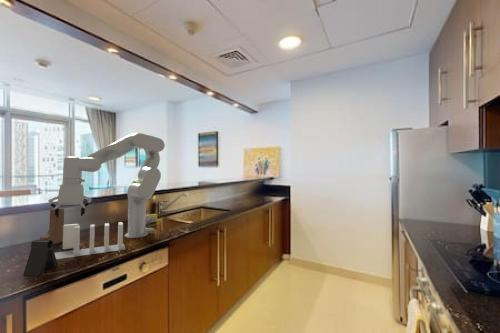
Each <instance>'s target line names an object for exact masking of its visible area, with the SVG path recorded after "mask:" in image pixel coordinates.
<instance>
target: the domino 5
mask: <svg viewBox="0 0 500 333" xmlns="http://www.w3.org/2000/svg"><path fill="white" fill-rule="evenodd" d="M123 244H124V223H123V222H122V221H119V222H118V223H117V245H118V249H122V248H123Z"/></svg>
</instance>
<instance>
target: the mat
mask: <svg viewBox="0 0 500 333" xmlns="http://www.w3.org/2000/svg"><path fill="white" fill-rule="evenodd" d="M123 250H126V247H125V244H124V243H123V248H122V249H118V244H111V245H110V244H109V250H108V251H104V245H103V246H97V247H95V246H94V253H89V247H87V248H81V249H80V248H79V254H78V255H73V253H74V249H71V250H64V251H58V252H54V253H55V257H56V260H62V259H67V258H68V259H69V258H75V257H81V256H89V255H95V254H96V255H97V254H102V253H109V252H116V251H123Z"/></svg>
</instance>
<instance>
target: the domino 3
mask: <svg viewBox="0 0 500 333" xmlns="http://www.w3.org/2000/svg"><path fill="white" fill-rule="evenodd" d="M95 226H96V225H95V224H90V225H89V247H88V248H89V253H94V248H95V236H96V235H95V232H96V230H95V228H96V227H95Z"/></svg>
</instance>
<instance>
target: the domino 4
mask: <svg viewBox="0 0 500 333" xmlns="http://www.w3.org/2000/svg"><path fill="white" fill-rule="evenodd" d="M103 232H104V234H103V235H104V238H103V243H104V244H103V246H104V251H108V250H109V246H110V223H109V222H107V223H106V222H105V223H104V231H103Z"/></svg>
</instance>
